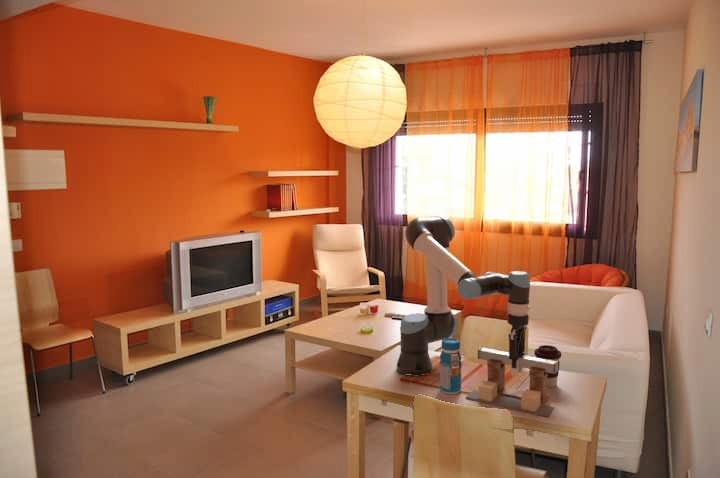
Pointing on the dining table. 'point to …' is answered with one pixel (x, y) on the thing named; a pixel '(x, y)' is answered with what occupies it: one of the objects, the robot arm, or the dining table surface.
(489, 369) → the pair of wooden supports
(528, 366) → the rail
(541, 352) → the coffee cup
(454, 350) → the beverage bottle
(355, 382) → the dining table surface
